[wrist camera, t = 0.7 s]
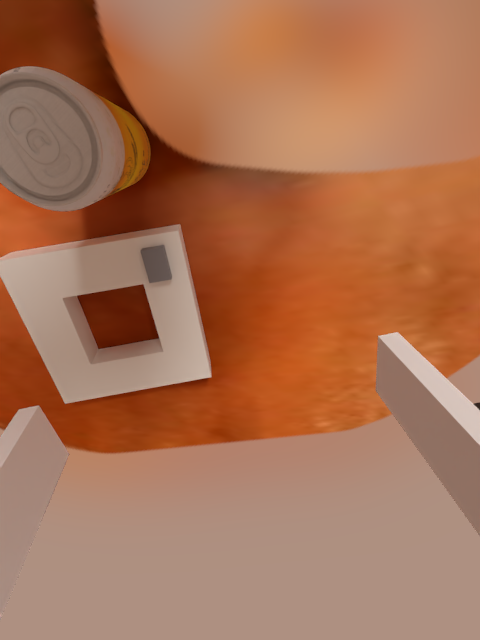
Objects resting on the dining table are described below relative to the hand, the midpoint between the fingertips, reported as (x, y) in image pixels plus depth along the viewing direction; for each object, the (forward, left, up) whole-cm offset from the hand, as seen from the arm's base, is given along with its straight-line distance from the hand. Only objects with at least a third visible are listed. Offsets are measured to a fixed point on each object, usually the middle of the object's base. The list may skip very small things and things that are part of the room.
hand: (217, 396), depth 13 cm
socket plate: (+5, -10, -22) cm, 25 cm away
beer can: (-10, -6, -23) cm, 25 cm away
